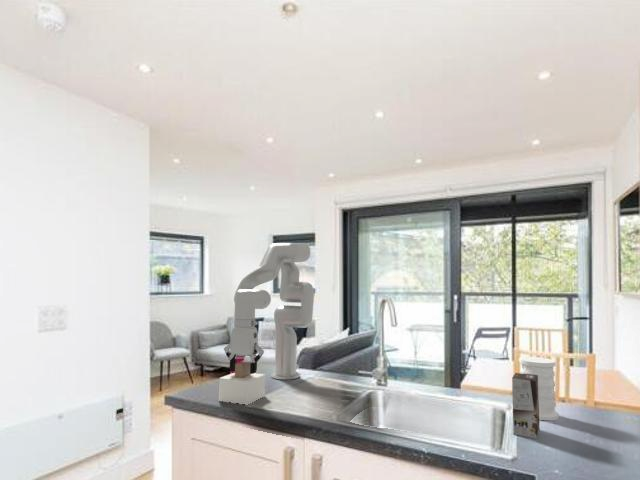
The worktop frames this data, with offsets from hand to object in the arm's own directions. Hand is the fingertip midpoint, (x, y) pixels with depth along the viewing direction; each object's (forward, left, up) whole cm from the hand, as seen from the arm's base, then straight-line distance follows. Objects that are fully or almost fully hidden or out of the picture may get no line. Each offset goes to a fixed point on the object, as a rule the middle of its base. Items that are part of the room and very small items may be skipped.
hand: (242, 371), depth 153 cm
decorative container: (-25, +99, -10) cm, 103 cm away
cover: (0, 0, -10) cm, 10 cm away
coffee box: (-6, +94, -10) cm, 95 cm away
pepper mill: (-11, -9, -10) cm, 17 cm away
